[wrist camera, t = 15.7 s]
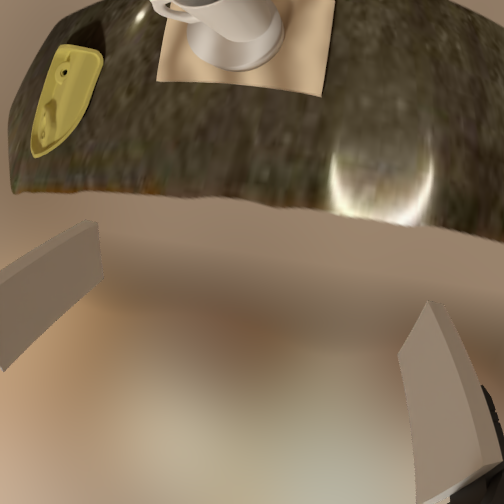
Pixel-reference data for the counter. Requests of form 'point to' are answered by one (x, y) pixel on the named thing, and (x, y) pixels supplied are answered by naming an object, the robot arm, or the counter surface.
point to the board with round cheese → (254, 50)
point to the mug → (222, 16)
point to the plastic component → (64, 96)
